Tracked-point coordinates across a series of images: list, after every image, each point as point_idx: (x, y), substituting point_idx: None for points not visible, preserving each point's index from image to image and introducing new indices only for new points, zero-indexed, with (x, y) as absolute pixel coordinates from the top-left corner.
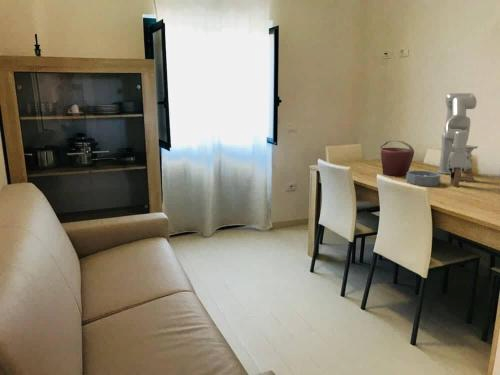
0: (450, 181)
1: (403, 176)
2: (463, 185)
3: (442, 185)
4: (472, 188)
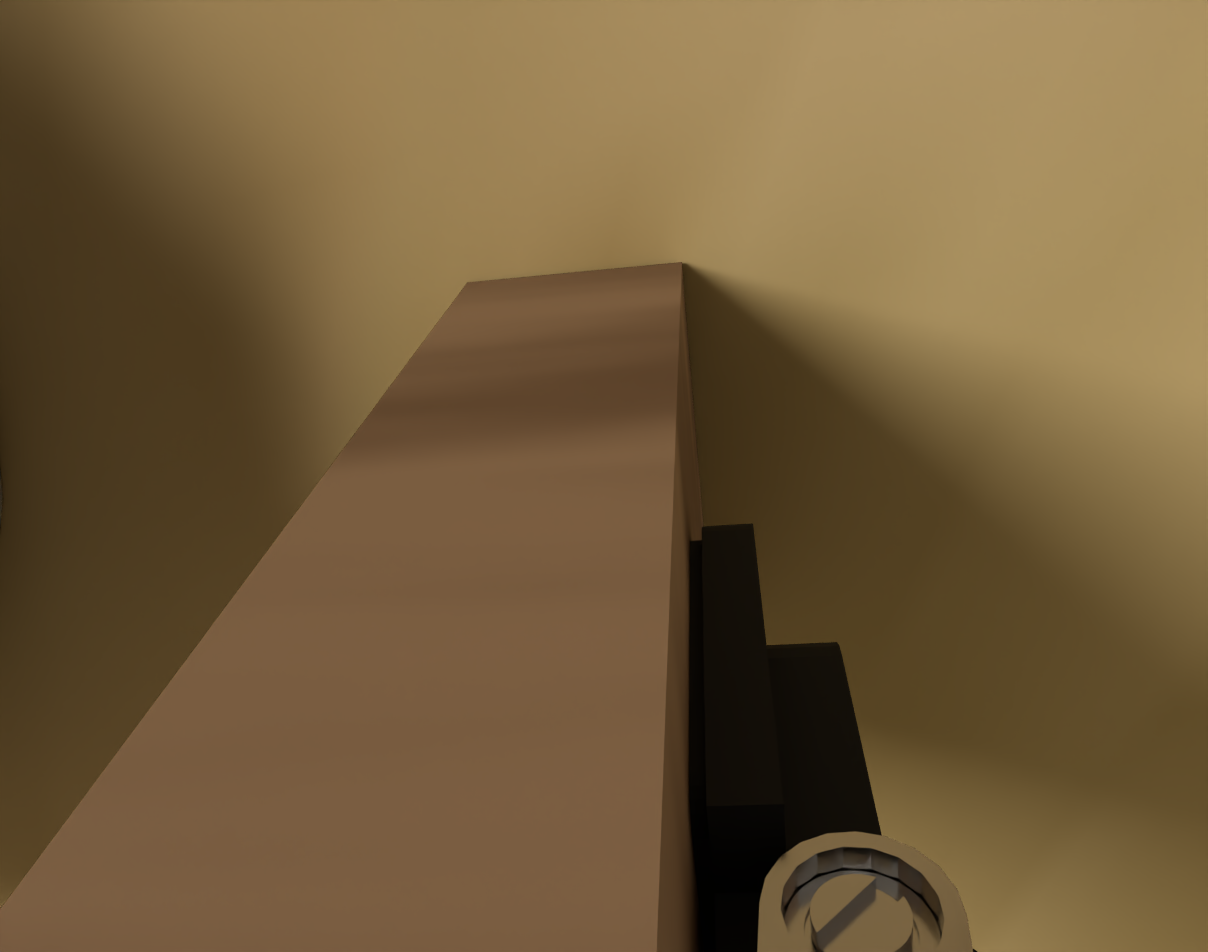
0: (441, 332)
1: None
2: (995, 439)
3: (141, 593)
4: (1097, 840)
